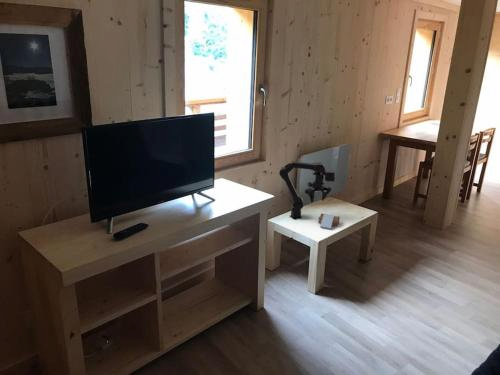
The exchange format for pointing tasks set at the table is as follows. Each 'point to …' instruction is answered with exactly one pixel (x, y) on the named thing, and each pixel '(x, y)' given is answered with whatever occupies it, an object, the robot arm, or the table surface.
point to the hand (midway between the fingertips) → (317, 201)
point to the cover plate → (327, 221)
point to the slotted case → (335, 220)
